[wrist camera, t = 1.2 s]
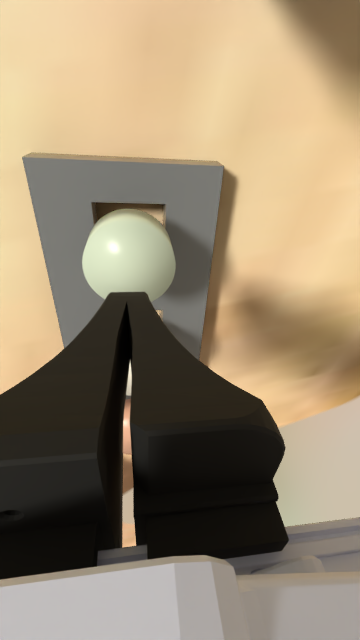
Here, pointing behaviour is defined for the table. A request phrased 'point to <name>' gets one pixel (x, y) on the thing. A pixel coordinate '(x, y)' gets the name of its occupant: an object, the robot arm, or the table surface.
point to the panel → (126, 187)
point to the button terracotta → (127, 427)
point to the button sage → (129, 255)
